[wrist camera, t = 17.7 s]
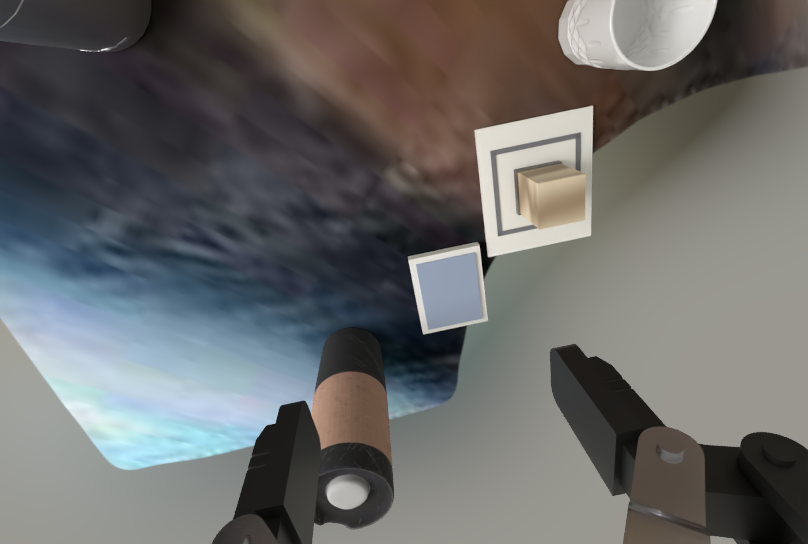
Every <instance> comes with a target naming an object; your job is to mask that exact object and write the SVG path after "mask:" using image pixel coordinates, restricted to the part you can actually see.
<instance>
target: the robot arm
mask: <svg viewBox="0 0 808 544" xmlns="http://www.w3.org/2000/svg"><path fill="white" fill-rule="evenodd" d="M150 15H151V0H0V41H7V42H16V43H25V44H34V45H43V46H52V47H61V48H70V49H79V50H83V51H91V52H117V51H120V50H123V49H126V48H129V47H130V46H132V45H133V44H135V43H136V42H137V41H138V40H139V39H140V38H141V36H142V35H143V34H144V33H145V30H146V28H147V26H148V24H149V20H150ZM550 362H551V364H550V365H551V387H552V392H553V396H554V398H555V401H556V403H557V405H558V407H559V408H560V410H561V412H562V413H563V415H564V417H565V418H566V420H567V422H568V423H569V425H570V426H571V428H572V430H573V431H574V433H575V435H576V436H577V438H578V440H579V441H580V443H581V444H582V446H583V448H584V449H585V451H586V453H587V454H588V456H589V458H590V459H591V461H592V463H593V464H594V466H595V467H596V469H597V471H598V472H599V474H600V476H601V477H602V479H603V481H604V482H605V484H606V486H607V487H608V489H609V490H610V492H611V494H612V495H613V496H615V495H620V494H624V493H627V495H628V496H629V498H630V503H629V505H628V513H627V519H626V527H625V533H624V541H623V544H711V543H710V536H719V537H727V538H733V539H734V540H735V541H736V543H737V544H808V450H807V449H806V448H805V447H803V446H802V445H800V444H799V443H797V442H795V441H793V440H791V439H789V438H787V437H784V436H781V435H777V434H773V433H767V432H757V433H751V434H748V435H746V436H745V437H744V438H743V439H742V441H741V445H740V447H728V446H727V447H726V446H711V445H703V444H698V443H697V442H696V441H695V440H694V439H693V438H691V437H690V436H689V435H687V434H685V433H683V432H681V431H679V430H676V429H673V428H669V427H666V426H665V425H664V424H663V423H662V421H661V420H660V419H659V418H658V417H657V416H656V415H655V414H654V412H653V411H652V410H651V409H650V408H649V407H648V406H647V404H646V403H645V402H644V401H643V400H642V399H641V398H640V397H639V395H638V394H637V393H636V392H635V391H634V390H633V389H631V386H630V385H629V384H628V383H627V382H626V381H625V380H624V379H623V378H622V376H621V375H620V374H619V373H618V372H617V371H616V370H615V368H614V367H613V366H612V365H610V364H609V363H607V362H605V361H603V360H602V359H600V358H598V357H597V356H595V357H590V358H587V357H586V356H585V354H584V353H583V352H582V351H581V349H580V348H579V347H578V346H577V345H576V344H572V345H567V346H562V347H557V348H553V349H551V351H550ZM320 460H321V443H320V437H319V434H318V431H317V429H316V426H315V423H314V421H313V418H312V415H311V413H310V410H309V408H308V405H307V403H306V402H305V401H300V402H295V403H290V404H286V405H282V406H280V408H279V412H278V416H277V420H276V424H272V425H267V426H266V427H265V428H264V430H263V431H262V432H261V434H260V435H259V437H258V438H257V439H256V442H255V445H254V449H253V453H252V458H251V459H250V463H249V466H248V469H249V470H248V471H247V473H246V477H245V480H244V484H243V487H242V491H241V494H240V498H239V501H238V504H237V508H236V511H235V515H234V518H233V520H232V521H230V522H229V523H228V524H226V525H225V526H224V527H223V528H222V529H221V530H220V531H219V533H218V534H217V535H216V537H215V539H214V540H213V542H212V544H312V536H313V527H314V518H315V508H316V499H317V489H318V479H319V470H320Z"/></svg>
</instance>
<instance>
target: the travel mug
mask: <svg viewBox="0 0 808 544" xmlns="http://www.w3.org/2000/svg"><path fill="white" fill-rule="evenodd" d="M311 415H312V418H313V421H314V423H315V426H316V429H317V431H318V434H319V437H320V443H321V460H320V470H319V479H318V489H317V499H316V508H315V518H314V523H316V524H318V525H323V524H324V523H328V522H331V523H339V524H343V525H345V526H347V528H349V529H359V528H363V527H366V526H369V525H371V524H373V523H375V522H377V521H378V520H380V519H381V518H382V517H383V516H384V515H385V514H386V513H387V512H388V511H389V509H390V508H391V505H392V503H393V499H394V486H393V472H392V458H391V446H390V445H391V444H390V430H389V416H388V402H387V392H386V384H385V377H384V369H383V362H382V354H381V348H380V345H379V342H378V341H377V339H376V338H375V337H374V336H373V335H372V334H371V333H369V332H368V331H366V330H363V329H359V328H345V329H341V330H339V331H337V332H335V333H334V334H332V335H331V336H330V337H329V338H328V339H327V341H326V343H325V345H324V348H323V352H322V356H321V362H320V367H319V372H318V377H317V382H316V388H315V393H314V398H313V406H312V414H311Z"/></svg>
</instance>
